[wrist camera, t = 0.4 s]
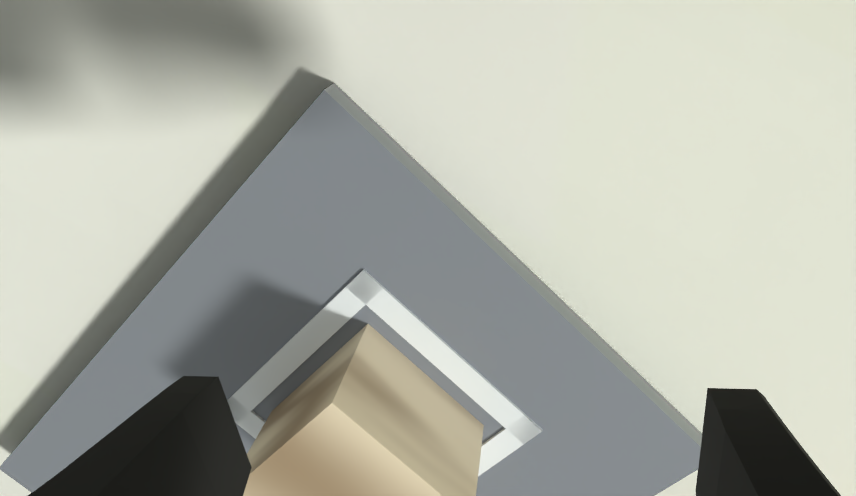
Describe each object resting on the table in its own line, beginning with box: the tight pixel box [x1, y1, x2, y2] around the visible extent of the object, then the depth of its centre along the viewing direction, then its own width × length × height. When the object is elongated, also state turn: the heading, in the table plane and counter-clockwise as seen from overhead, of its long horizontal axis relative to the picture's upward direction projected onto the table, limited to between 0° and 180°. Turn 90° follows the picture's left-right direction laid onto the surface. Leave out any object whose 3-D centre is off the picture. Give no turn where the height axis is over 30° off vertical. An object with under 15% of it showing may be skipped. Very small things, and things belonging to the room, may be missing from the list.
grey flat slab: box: [0, 83, 702, 496], centre depth 24 cm, size 20×16×1 cm
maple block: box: [243, 324, 484, 496], centre depth 20 cm, size 5×5×4 cm
